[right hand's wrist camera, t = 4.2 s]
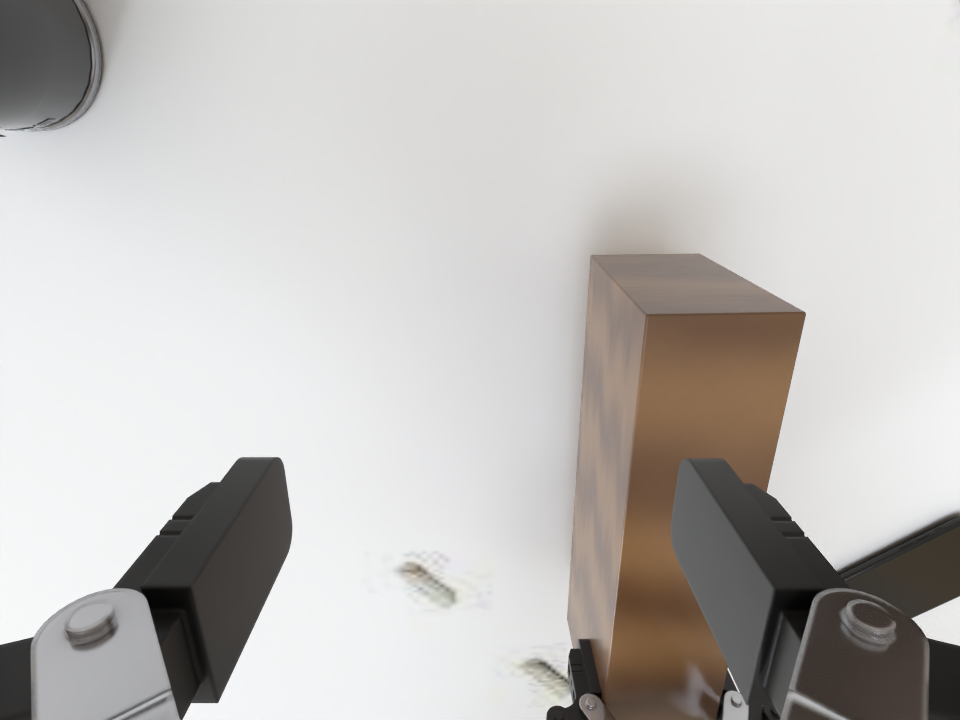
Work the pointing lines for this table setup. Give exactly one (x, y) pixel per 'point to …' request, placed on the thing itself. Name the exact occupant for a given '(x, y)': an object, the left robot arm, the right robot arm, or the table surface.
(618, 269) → the box
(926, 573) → the smartphone
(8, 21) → the right robot arm
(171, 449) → the table surface
